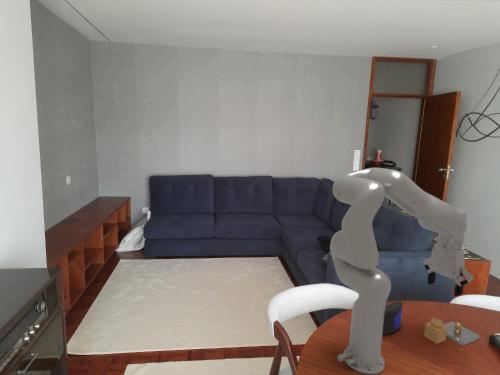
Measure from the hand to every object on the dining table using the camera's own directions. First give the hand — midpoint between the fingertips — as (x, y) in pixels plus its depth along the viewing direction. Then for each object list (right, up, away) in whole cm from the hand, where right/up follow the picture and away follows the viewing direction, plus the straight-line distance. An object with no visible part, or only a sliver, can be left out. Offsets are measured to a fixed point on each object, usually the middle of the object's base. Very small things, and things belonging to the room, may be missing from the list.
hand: (443, 289), depth 116 cm
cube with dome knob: (-2, -18, +2) cm, 19 cm away
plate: (+7, -18, +4) cm, 20 cm away
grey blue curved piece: (-18, -17, +7) cm, 26 cm away
